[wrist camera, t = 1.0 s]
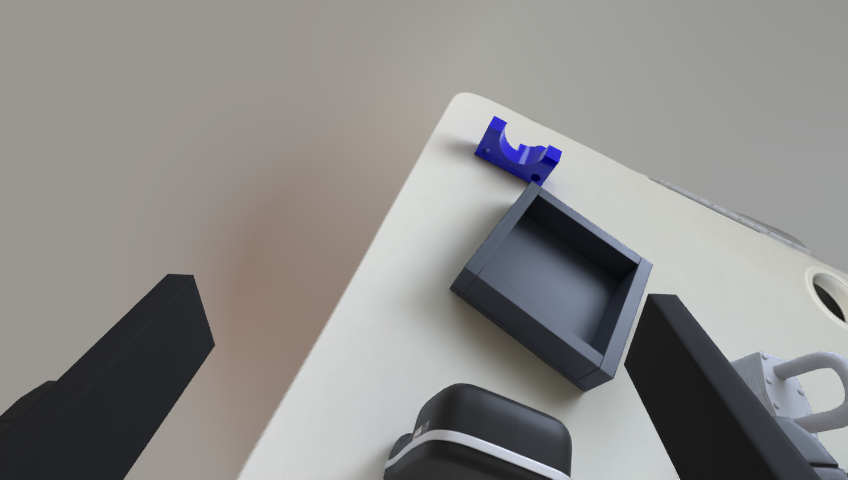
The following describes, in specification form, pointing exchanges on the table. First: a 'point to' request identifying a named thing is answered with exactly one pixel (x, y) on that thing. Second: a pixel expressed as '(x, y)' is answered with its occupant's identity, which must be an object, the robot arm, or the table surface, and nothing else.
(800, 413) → the padlock
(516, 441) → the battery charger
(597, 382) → the dark grey square tray
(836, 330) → the table surface
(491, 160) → the cable holder
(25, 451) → the robot arm
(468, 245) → the table surface
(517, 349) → the table surface
